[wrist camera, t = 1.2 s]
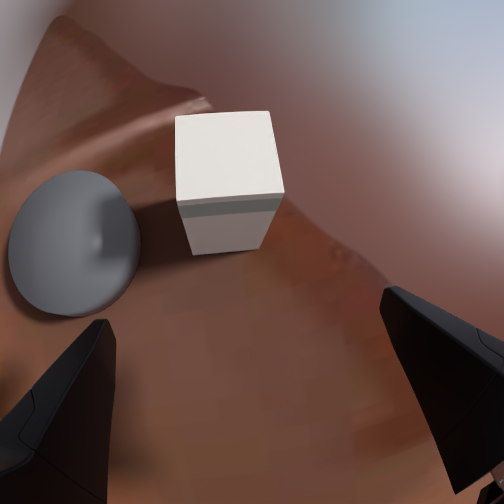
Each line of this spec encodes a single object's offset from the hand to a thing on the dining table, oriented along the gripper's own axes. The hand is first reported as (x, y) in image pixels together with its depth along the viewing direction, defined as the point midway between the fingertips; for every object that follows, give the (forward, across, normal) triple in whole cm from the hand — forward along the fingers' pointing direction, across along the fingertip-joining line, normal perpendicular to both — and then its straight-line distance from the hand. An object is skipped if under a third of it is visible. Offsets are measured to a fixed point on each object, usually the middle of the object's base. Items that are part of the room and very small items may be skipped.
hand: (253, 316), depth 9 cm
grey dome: (+15, +12, +4) cm, 19 cm away
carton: (+15, 0, +4) cm, 16 cm away
